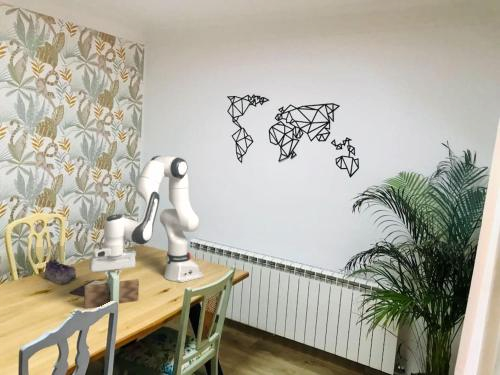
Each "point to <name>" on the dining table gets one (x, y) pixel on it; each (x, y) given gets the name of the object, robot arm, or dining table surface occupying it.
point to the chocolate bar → (81, 289)
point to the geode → (59, 272)
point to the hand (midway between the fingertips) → (112, 278)
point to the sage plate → (113, 285)
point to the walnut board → (100, 295)
